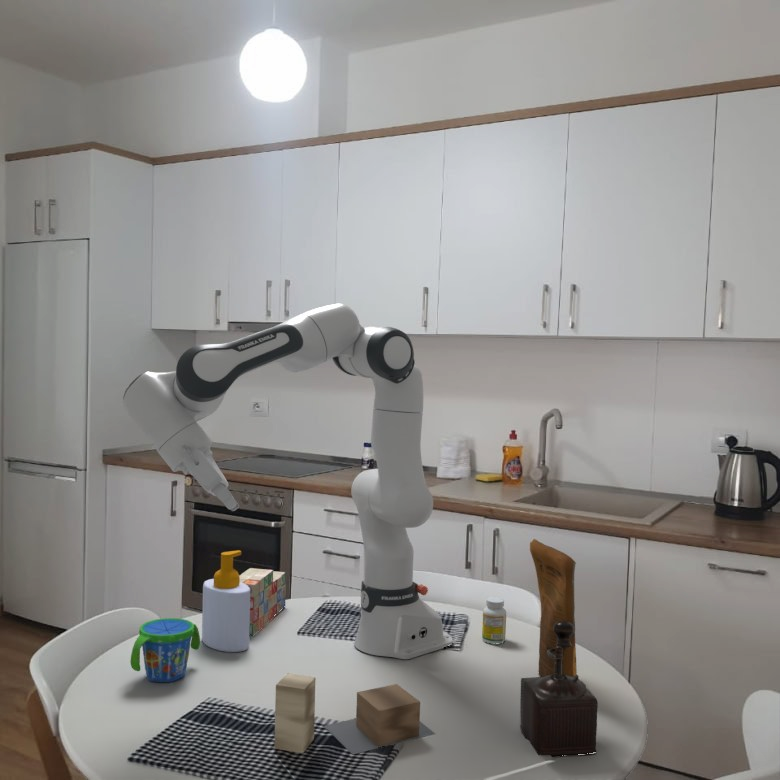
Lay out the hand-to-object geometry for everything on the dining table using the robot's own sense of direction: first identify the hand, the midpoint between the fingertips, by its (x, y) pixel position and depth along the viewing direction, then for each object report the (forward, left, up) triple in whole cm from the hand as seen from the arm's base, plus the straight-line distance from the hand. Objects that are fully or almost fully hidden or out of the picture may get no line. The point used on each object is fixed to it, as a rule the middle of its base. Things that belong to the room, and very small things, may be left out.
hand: (235, 508), depth 145 cm
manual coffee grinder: (-46, +36, -37) cm, 69 cm away
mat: (-19, +22, -36) cm, 47 cm away
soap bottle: (-8, -29, -37) cm, 47 cm away
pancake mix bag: (-61, +19, -37) cm, 74 cm away
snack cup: (+8, -17, -37) cm, 41 cm away
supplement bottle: (-64, -5, -37) cm, 74 cm away
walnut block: (-20, +23, -36) cm, 47 cm away
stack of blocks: (-20, -41, -37) cm, 58 cm away
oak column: (-4, +20, -36) cm, 42 cm away
